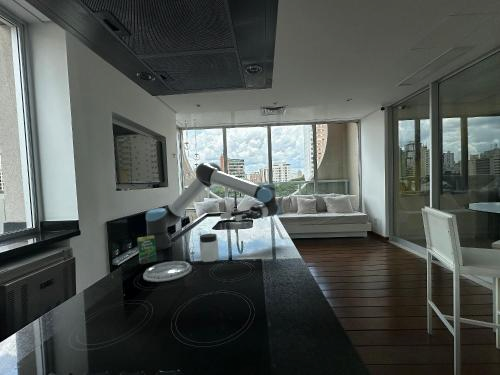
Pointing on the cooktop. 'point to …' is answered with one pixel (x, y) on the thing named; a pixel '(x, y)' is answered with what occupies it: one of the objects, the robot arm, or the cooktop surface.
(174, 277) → the rosette plate
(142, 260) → the coffee box
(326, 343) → the cooktop surface
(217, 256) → the jar
